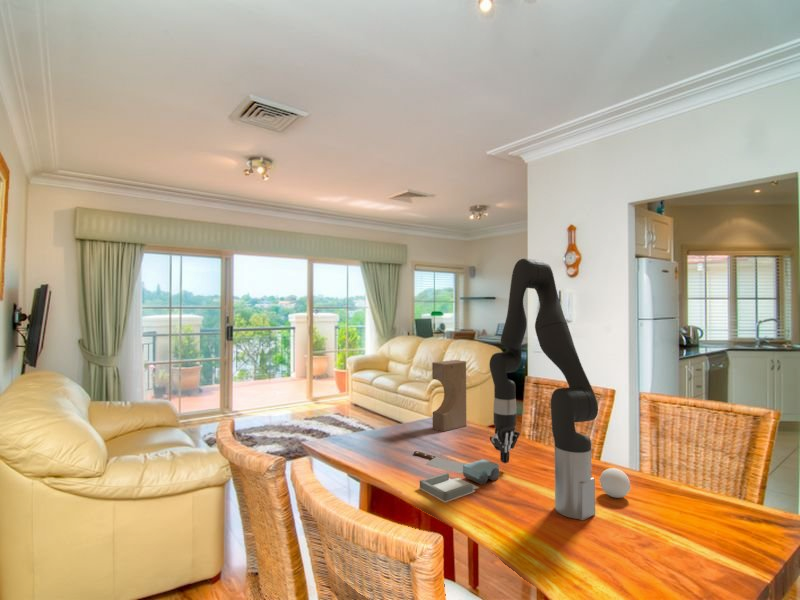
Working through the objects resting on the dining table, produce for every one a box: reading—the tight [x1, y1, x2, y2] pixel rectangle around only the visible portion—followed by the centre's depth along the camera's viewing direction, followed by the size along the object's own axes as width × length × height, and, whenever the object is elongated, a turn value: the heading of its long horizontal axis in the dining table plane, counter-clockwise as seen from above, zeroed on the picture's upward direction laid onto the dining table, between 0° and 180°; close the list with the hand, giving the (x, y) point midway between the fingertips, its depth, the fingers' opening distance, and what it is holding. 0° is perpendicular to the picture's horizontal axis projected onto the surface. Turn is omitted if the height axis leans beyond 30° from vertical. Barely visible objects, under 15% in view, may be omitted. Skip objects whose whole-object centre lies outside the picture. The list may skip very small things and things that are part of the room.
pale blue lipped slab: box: [462, 458, 500, 486], centre depth 138 cm, size 7×10×4 cm
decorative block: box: [431, 359, 467, 433], centre depth 197 cm, size 15×8×30 cm, turn 128°
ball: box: [599, 467, 631, 499], centre depth 125 cm, size 8×8×8 cm
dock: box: [419, 472, 480, 503], centre depth 130 cm, size 12×15×2 cm
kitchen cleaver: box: [413, 450, 469, 474], centre depth 152 cm, size 24×1×10 cm
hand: (504, 462), depth 145 cm, fingers closed
